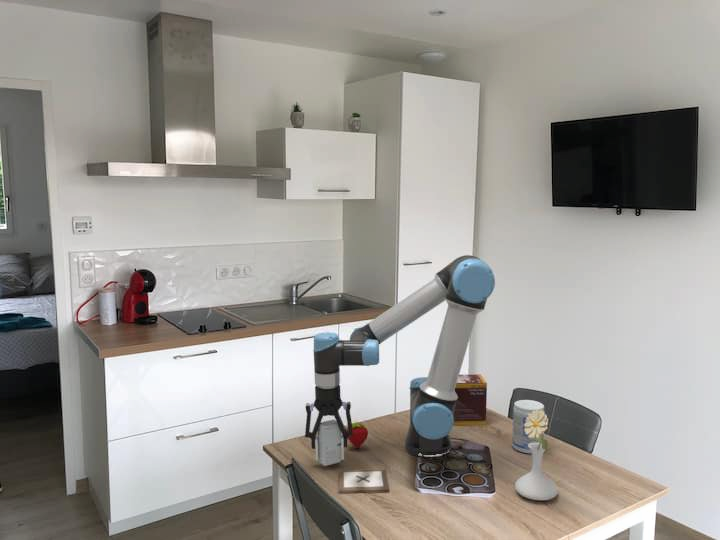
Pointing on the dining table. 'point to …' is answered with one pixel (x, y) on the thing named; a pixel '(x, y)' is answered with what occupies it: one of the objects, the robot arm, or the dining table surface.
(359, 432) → the strawberry
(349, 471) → the tray with cross mark
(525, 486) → the flower in vase
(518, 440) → the supplement tub
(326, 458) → the skincare box
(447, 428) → the robot arm
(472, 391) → the supplement box
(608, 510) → the dining table surface
